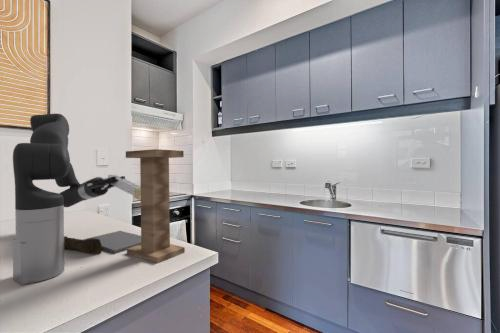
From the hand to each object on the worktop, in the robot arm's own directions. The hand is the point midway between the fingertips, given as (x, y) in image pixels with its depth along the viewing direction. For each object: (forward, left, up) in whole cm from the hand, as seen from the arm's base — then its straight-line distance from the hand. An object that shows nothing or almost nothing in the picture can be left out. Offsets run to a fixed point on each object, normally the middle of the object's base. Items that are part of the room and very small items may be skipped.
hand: (120, 178), depth 92 cm
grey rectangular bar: (0, -4, -4) cm, 6 cm away
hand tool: (-13, -1, -23) cm, 27 cm away
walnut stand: (-3, -25, -23) cm, 34 cm away
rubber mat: (-3, -3, -23) cm, 23 cm away
